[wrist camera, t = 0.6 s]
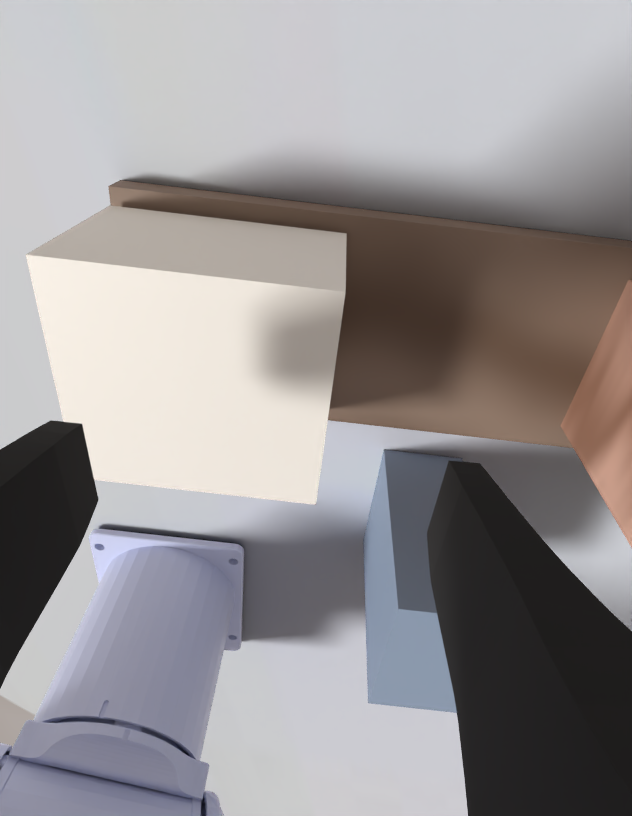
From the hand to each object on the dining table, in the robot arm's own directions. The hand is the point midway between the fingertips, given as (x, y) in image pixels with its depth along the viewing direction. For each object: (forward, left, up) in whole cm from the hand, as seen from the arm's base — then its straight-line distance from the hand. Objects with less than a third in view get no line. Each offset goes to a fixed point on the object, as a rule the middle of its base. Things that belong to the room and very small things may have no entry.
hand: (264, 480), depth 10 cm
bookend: (-1, +2, -9) cm, 9 cm away
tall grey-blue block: (-10, -6, -10) cm, 15 cm away
